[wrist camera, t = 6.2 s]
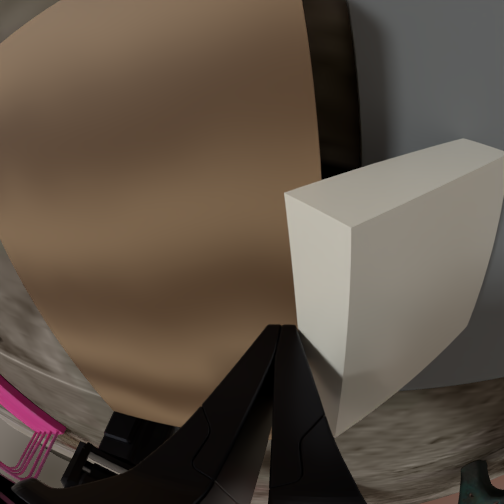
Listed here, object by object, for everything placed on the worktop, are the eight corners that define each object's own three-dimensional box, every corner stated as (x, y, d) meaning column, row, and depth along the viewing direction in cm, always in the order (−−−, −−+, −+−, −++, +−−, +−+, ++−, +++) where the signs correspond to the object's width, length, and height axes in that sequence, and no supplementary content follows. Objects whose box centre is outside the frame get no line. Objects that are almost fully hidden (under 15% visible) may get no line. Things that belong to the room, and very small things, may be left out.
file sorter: (-13, 383, 49) (-41, 430, 37) (-8, 365, 37) (-49, 430, 24) (41, 428, 55) (17, 476, 42) (67, 427, 43) (35, 494, 30)
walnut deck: (322, 388, 19) (317, 442, 16) (134, 369, 22) (113, 410, 19) (296, -32, 7) (286, -76, 4) (13, 69, 10) (-47, 87, 7)
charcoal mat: (510, 371, 16) (512, 375, 15) (344, 388, 19) (344, 393, 18) (594, 37, 4) (599, 38, 4) (340, -33, 7) (340, -37, 7)
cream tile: (436, 305, 13) (467, 326, 12) (303, 400, 11) (334, 437, 9) (463, 138, 9) (509, 153, 7) (284, 193, 6) (351, 227, 5)
